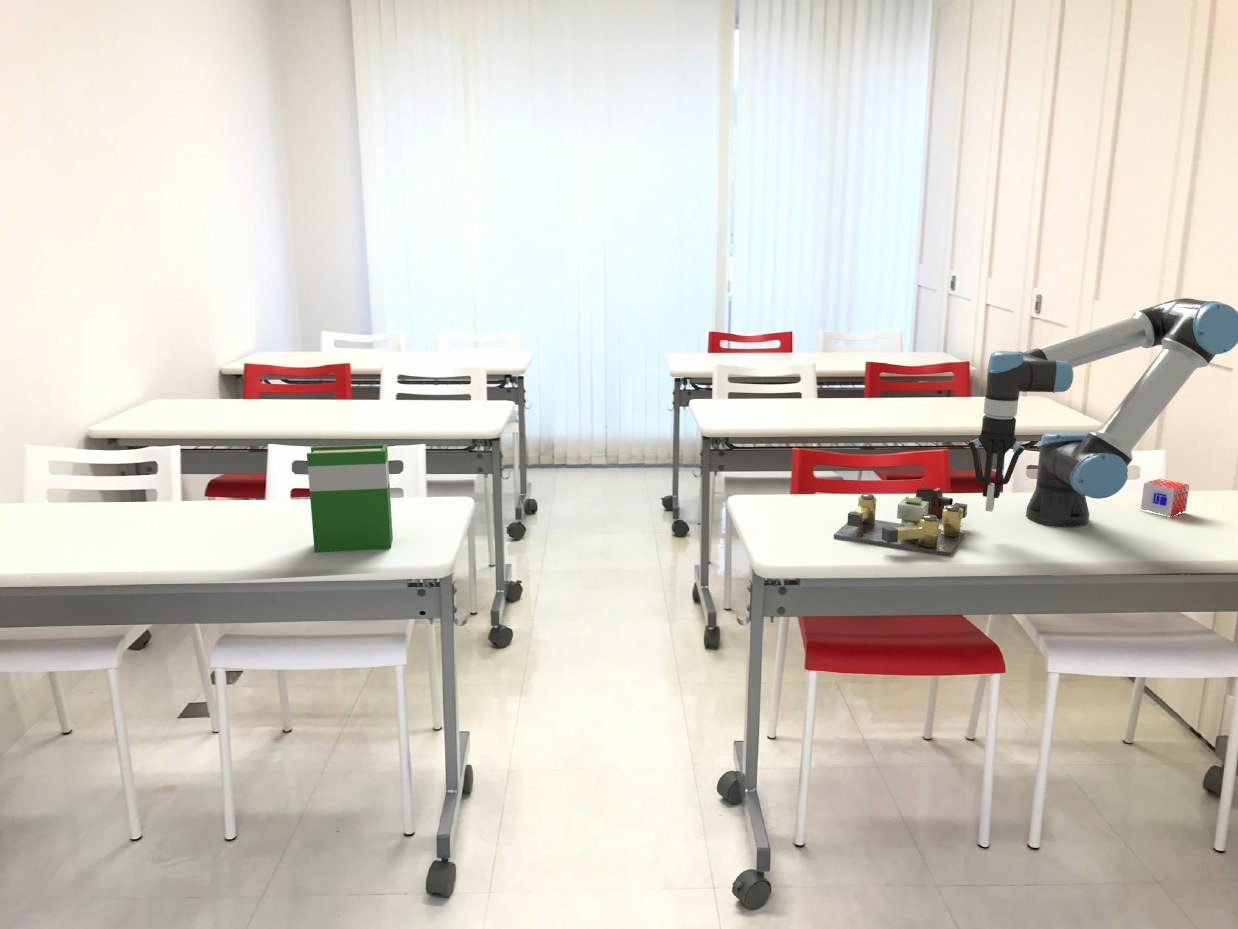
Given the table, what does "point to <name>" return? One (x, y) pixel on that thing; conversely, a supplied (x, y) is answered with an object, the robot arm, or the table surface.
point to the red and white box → (1165, 497)
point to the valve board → (910, 515)
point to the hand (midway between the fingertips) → (989, 509)
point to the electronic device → (934, 500)
